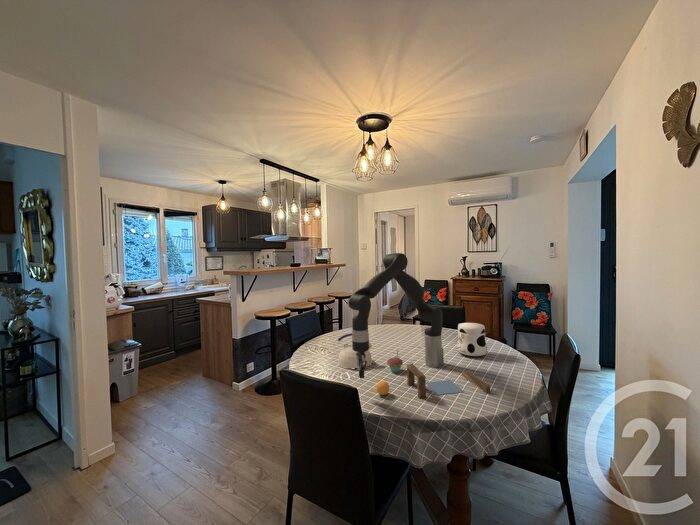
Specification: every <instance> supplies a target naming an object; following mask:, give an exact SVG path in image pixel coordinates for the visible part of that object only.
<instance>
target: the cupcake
mask: <svg viewBox="0 0 700 525" xmlns="http://www.w3.org/2000/svg"><path fill="white" fill-rule="evenodd" d="M396 350H397V351H396V356H394V357H390V358H388V359H387V360H386V365H388V366H389V369H390V371H391V372H393V373H399V372H400V370H401V367H402V366H403V365H404V363H403V360H402V359H401V358H400V357H398V356H399V349H396Z"/></svg>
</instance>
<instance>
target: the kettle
mask: <svg viewBox="0 0 700 525" xmlns="http://www.w3.org/2000/svg"><path fill="white" fill-rule="evenodd" d="M347 337H352V333H347V334H344V335H342V336H340V337H339V338H338V339H337V341H338V342H340V341H342V340H343V339H345V338H347ZM371 348H373V345H372V344H371V343H370V342H369V350H368V351H365V354H366V361H367V364H366V367H367V366H369V365H370V366H372V364H373V360H372V354H371V352H370V349H371ZM356 353H357V352H356V351H354V350H353V349H352V343H346V344H344V346H343V348H342V349H341V350H340V352H339V355H338V362H337V364H338V363H339V364H340V365H341V366H343V367H347V368H358V366H357V358H356ZM371 363H372V364H371ZM370 366H369V367H370ZM367 368H368V367H367Z"/></svg>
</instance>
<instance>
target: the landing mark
mask: <svg viewBox="0 0 700 525" xmlns="http://www.w3.org/2000/svg"><path fill="white" fill-rule="evenodd" d="M426 386H428V387H429V388H430V389H431V390H432V391H433V392H434V393H435V394H436V395H437V396H441V395H442V396H443V395H451V394H458V393H465V390H463V389H462V388H461V387H460V386H458V384H456V383H455V382H453V381H452V380H451V379H447V380H436V381H426Z"/></svg>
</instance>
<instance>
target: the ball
mask: <svg viewBox="0 0 700 525" xmlns="http://www.w3.org/2000/svg"><path fill="white" fill-rule="evenodd" d="M375 388H376V389H375V390H376V392H377V393H378V394H379V395H380V396H386V395H387V394H388V393H389V391H390V385H389V383H388V382H387V381H385V380H380V381H378V382H377V383H376V386H375Z"/></svg>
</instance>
